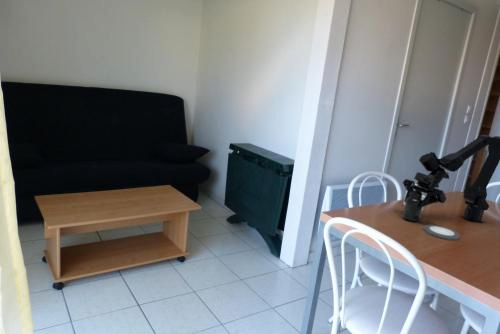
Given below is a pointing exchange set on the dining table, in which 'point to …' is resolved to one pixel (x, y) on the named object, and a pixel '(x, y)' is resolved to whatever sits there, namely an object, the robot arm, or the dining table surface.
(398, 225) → the dining table surface
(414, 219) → the supplement bottle
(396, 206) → the dining table surface
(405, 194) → the medicine bottle
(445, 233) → the trivet
